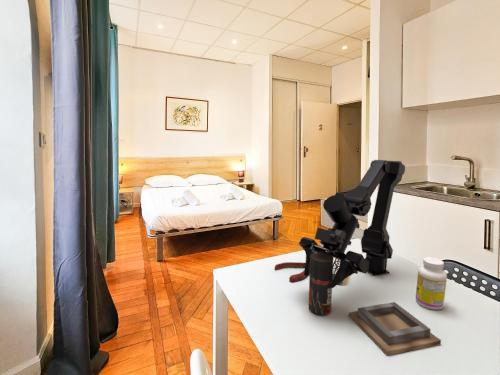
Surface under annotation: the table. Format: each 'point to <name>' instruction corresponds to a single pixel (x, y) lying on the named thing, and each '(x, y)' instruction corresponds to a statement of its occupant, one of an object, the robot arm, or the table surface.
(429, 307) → the supplement bottle
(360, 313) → the socket board
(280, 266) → the pliers
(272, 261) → the table surface
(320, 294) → the deodorant
